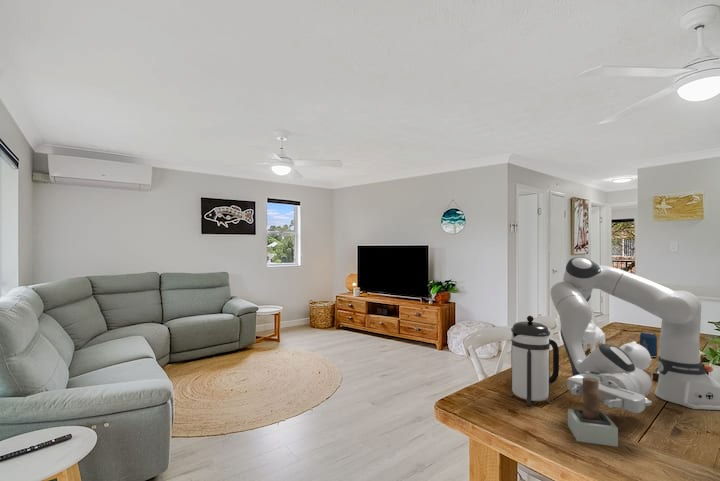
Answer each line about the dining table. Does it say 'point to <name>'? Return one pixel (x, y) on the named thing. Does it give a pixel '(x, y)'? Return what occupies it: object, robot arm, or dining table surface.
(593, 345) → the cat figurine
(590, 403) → the dowel
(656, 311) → the robot arm
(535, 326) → the coffee press
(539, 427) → the dining table surface
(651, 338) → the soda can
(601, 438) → the collar block
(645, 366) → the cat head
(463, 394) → the dining table surface
